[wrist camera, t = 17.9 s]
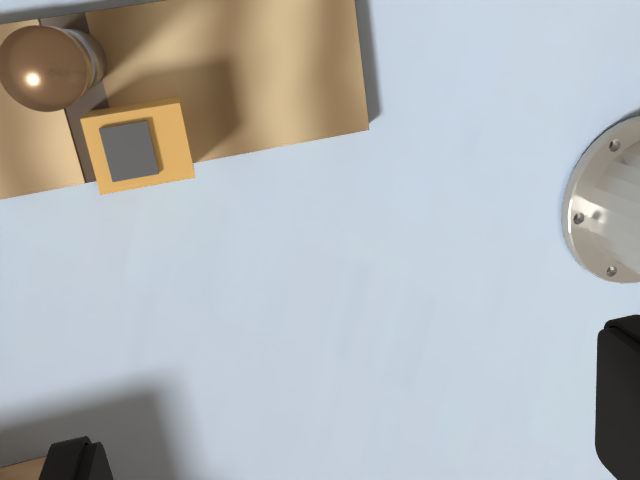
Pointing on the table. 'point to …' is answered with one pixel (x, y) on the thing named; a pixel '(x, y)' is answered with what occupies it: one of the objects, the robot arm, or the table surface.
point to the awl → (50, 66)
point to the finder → (138, 145)
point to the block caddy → (23, 470)
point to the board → (198, 82)
